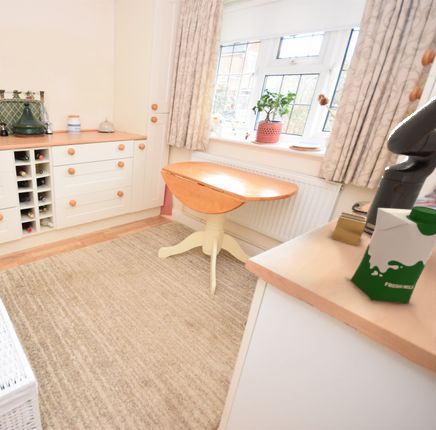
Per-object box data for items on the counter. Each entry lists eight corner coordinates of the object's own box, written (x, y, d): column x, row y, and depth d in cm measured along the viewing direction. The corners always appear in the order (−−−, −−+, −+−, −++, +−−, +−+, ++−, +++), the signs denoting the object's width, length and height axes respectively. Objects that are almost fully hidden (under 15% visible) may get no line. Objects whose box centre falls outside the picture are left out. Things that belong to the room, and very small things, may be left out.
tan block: (334, 232, 90) (342, 211, 88) (359, 239, 87) (368, 217, 84) (331, 238, 86) (339, 216, 84) (357, 246, 83) (366, 223, 80)
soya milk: (370, 303, 60) (412, 213, 52) (343, 277, 68) (375, 196, 60) (417, 307, 59) (466, 216, 51) (383, 280, 67) (421, 199, 59)
